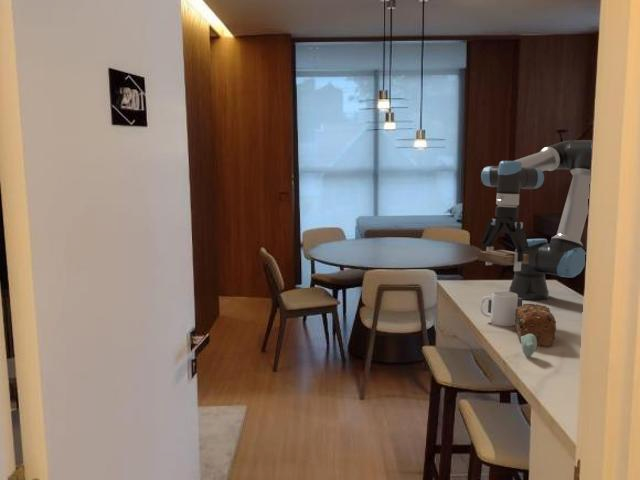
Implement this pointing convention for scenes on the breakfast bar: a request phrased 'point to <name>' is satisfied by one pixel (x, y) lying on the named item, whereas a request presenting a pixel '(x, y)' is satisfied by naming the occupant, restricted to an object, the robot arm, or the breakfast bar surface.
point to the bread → (536, 323)
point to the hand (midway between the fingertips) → (502, 267)
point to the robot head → (528, 344)
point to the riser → (519, 303)
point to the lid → (500, 257)
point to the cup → (501, 308)
